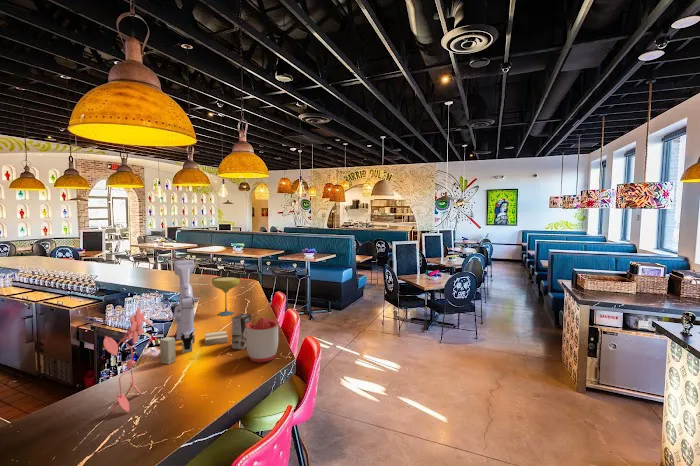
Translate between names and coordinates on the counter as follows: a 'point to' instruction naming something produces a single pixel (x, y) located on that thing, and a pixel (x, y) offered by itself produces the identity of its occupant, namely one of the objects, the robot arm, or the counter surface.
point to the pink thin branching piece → (113, 349)
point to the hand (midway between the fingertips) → (187, 347)
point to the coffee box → (239, 330)
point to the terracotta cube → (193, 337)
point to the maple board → (216, 338)
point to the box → (167, 350)
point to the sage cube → (187, 349)
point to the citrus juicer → (262, 340)
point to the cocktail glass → (225, 288)
